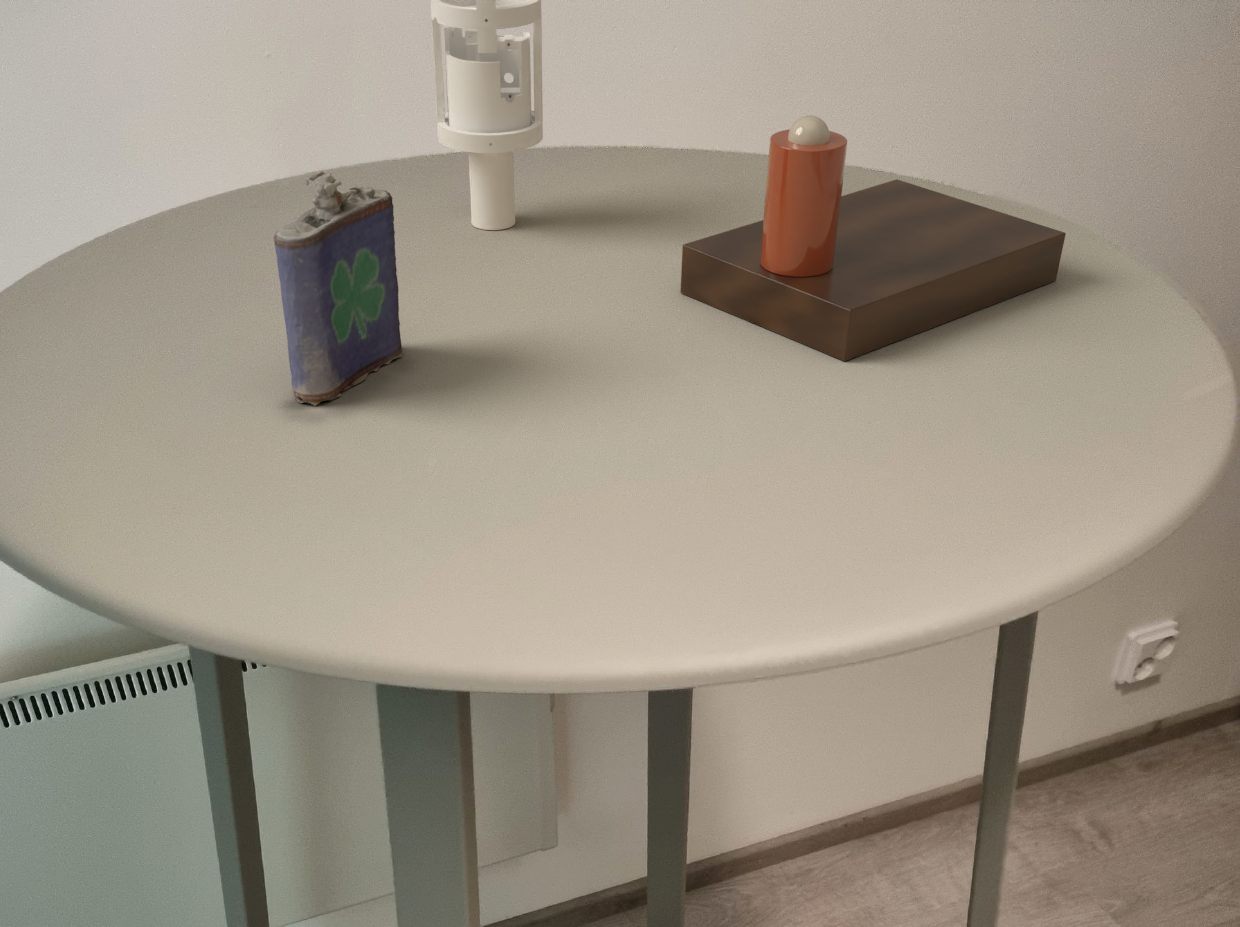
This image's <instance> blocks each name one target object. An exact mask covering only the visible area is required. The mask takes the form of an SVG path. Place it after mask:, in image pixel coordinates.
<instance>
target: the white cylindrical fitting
mask: <svg viewBox="0 0 1240 927" xmlns="http://www.w3.org/2000/svg"><path fill="white" fill-rule="evenodd" d="M429 1H430V2H429V3H430V20H431V37H432V56H433V72H434V74H433V76H434V90H435V92H434V93H435V108H436V109H435V110H436V125H437V140H438V142H439V143H440V144H441V145H443V146H444V147H447V148H449V149H453V150H456V151H459V152H466V153H468V172H469V175H468V176H469V193H470V214H471V215H470V220H471V226H473V227H474V228H476V229H479V230H484V231H485V230H486V231H500V230H506V229H509V228H512V227H514V226H515V225H516V202H515V198H516V197H515V163H514V162H515V161H514V160H515V158H514V157H515V156H514V152H518V151H522V150H527V149H530V148H532V147H535V146H537V145H538V144H540V143H541V142H542V141H543V140H544V139H543V138H544V123H543V122H544V117H543V116H544V113H543V46H542V45H543V38H542V37H543V34H542V31H543V30H542V25H543V24H542V0H429ZM475 6H476V7H475ZM496 6H499V7H496ZM441 25H442V26H444V27H443V28H444V30H443V31H444V32H443V33H444V34H443V35H444V62H445V81H446V99H447V100H446V101H447V111H446V107H445V104H446V103H445V88H444V69H443V67H444V66H443V65H444V64H443V50H442V48H443V47H442V31H441V30H442V29H441V28H442V27H441ZM529 25H532V48H533V50H532V54H533V58H532V59H533V110H532V88H531V87H532V83H531V82H532V80H531V33H530V32H529V31H523V36H515V35H513V34H500V33H497V30H506V29H512V28H519V27H524V26H529ZM463 29H465V30H464V35H463ZM506 74H511V76H512V77H513V80H512V82H507V81H506V80H505V75H506Z"/></svg>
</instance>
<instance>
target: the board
mask: <svg viewBox="0 0 1240 927" xmlns="http://www.w3.org/2000/svg"><path fill="white" fill-rule="evenodd" d="M763 220H764V219H762V220H759V221H756V222H752V223H749V224H746V225H742V226H739V227H736V228H733V229H729V230H726V231H722V232H719V233H716V234H713V235H710V236H706V237H703V238H700V239H696V240H694V241H693V240H692V241H690V242H687V243H684V244H682V248H681V249H682V250H681V270H680V272H681V273H680V293H681V294H683V295H685V296H688V297H689V298H692V299H695V300H697V301H700V302H702V303H704V304H706V305H709V306H712V307H713V308H716V309H719V310H721V311H723V312H726V313H728V314H730V315H733V316H734V317H737V318H740V319H742V320H745V321H747V322H750V323H752V324H755V325H757V326H760V328H761V327H762V328H764V329H767V330H769V331H771V332H773V333H776V334H778V335H780V336H783V337H785V338H788V339H790V340H792V341H795V342H797V343H800V344H802V345H804V346H807V347H809V348H811V349H814V350H816V351H819V352H821V353H824V354H826V355H828V356H831V357H833V358H836V359H838V360H841V361H843V362H846V361H849V360H852V359H854V358H855V359H856V357H859V356H862V355H865V354H868V353H871V352H872V351H875V350H878V349H881V348H883V347H886V346H888V345H892V344H894V343H896V342H899V341H901V340H904V339H907V338H910V337H912V336H914V335H917V334H920V333H922V332H924V331H925V332H926V331H927V330H930V329H932V328H936V327H938V326H941V325H943V324H946V323H949V322H951V321H954V320H956V319H959V318H961V317H964V316H967V315H970V314H973V313H975V312H977V311H980V310H982V309H985V308H988V307H990V306H992V305H995V304H997V303H1001V302H1003V301H1006V300H1008V299H1011V298H1014V297H1016V296H1017V297H1018V296H1019V295H1022V294H1024V293H1027V292H1029V291H1032V290H1035V289H1037V288H1040V287H1043V286H1045V285H1047V284H1050V283H1053V282H1056V280H1057V277H1058V273H1059V269H1060V263H1061V259H1062V254H1063V250H1064V244H1065V239H1066V236H1067V235H1066V232H1065V231H1062V230H1058V229H1055V228H1052V227H1049V226H1045V225H1042V224H1039V223H1036V222H1033V221H1031V220H1027V219H1024V218H1021V217H1017V216H1014V215H1011V214H1008V213H1006V212H1005V213H1004V212H1002V211H998V210H996V209H992V208H989V207H987V206H983V205H979V204H976V203H973V202H970V201H966V200H964V199H960V198H957V197H954V196H952V195H948V194H944V193H942V192H937V191H935V190H932V189H928V188H925V187H922V186H920V185H916V184H914V183H911V182H906V181H904V180H900V179H893V180H889V181H887V182H882V183H880V184H877V185H873V186H871V187H866V188H864V189H863V188H862V189H860V190H857V191H854V192H850V193H847V194H844V195H841V204H840V213H839V222H838V231H837V240H836V249H835V257H834V266H833V268H832V269H831V270H830V271H829V272H827V273H824V274H821V275H817V276H810V277H791V276H783V275H779V274H775V273H772V272H770V271H768V270H766V269H764V268H763V267H762V266H761V263H760V257H761V245H762V232H763Z"/></svg>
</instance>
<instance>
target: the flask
mask: <svg viewBox="0 0 1240 927" xmlns="http://www.w3.org/2000/svg"><path fill="white" fill-rule="evenodd" d="M320 177H321V178H320ZM318 178H320V179H318ZM309 180H310V181H312V182H314V181H315V180H316V181H315V182H314V185H315V191H314V196H313V197H312V199H311V202H312V203H313V205H314V206H315V207H313V208H311V209H309V210H307V211H305V212H304V213H302V214H300V215H298V216H296V217H295V218H293V219H292V220H291V221H289V222H287V224H285V225H282V227H280V228H279V229H277V230H276V232H275V233H274V236H273V242H274V249H275V256H276V262H277V271H278V278H279V282H280V283H279V284H280V295H281V304H282V310H283V317H284V324H285V332H286V340H287V353H288V363H289V369H290V376H291V389H292V392H293V396H294V397H295V398H294V399H295V400H296V401H297V403H300V404H302V403H303V404H304V403H308V404H311V405H313V406H317V405H319V404H320V403H321V402H324V401H325V402H326V401H332V400H334V399H337V398H339V397H341V396H342V392H344V391H346V390H348V389H350V388H352V387H353V386H354V387H355V386H356V385H358V384H360V383H363V381H365V380H366V379H367V377H368V375H369V373H371V372H378V370H379V368H380V367H382V366H384V365H390V363H391V362H392V361H393V360H396V359H399V358H401V357H402V356H403V347H402V346H403V345H402V337H401V328H400V326H401V323H400V313H399V312H400V306H399V304H400V303H399V282H398V281H399V280H398V275H397V270H398V269H397V257H396V240H395V234H396V232H395V223H394V222H395V215H394V203H393V196H392V195H391V193H390V192H389V191H387V190H384V189H379V188H376V187H372V186H364V187H363V186H358V185H353V186H352V187H351V186H350V187H349V188H348V190H346V191H343V192H340V191H338V189H337V188H338V187H340V186H342V182H341V180H337V179H336V178H335V177H334V176H333V175H332V173H328V174H326V173H325V172H324V171H323V170H319V171H316V172H315V173H312V174H310V175H309V176H308V179H307V180H305V182H304V184H305V186H309V184H310V181H309Z"/></svg>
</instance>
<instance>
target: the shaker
mask: <svg viewBox="0 0 1240 927" xmlns="http://www.w3.org/2000/svg"><path fill="white" fill-rule="evenodd" d="M847 149H848V139H847V137H846V136H844V135H842V134H840V133H838V132H835V131H832V130H830V129H829V126H828V125H827V123H826V122H825V121H824V120H823V119H822V118H821V117H819V116H817V115H804V116H801V117H799V118H798V119H797V120H795V121H794V123H793V124H792V125H791V127H790V129H784V130H780V131H777V132H775V133H773V134H772V135H771V136H770V138H769V146H768V159H767V170H766V171H767V172H766V182H765V183H766V184H765V196H764V208H763V219H762V220H763V232H762V245H761V257H760V263H761V266H762V267H763V268H764V269H766V270H768V271H770V272H772V273H775V274H779V275H783V276H791V277H810V276H817V275H821V274H824V273H827V272H829V271H830V270H831V269H832V268H833V266H834V257H835V249H836V240H837V231H838V222H839V213H840V204H841V196H843V184H844V176H845V167H846V158H847Z"/></svg>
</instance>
